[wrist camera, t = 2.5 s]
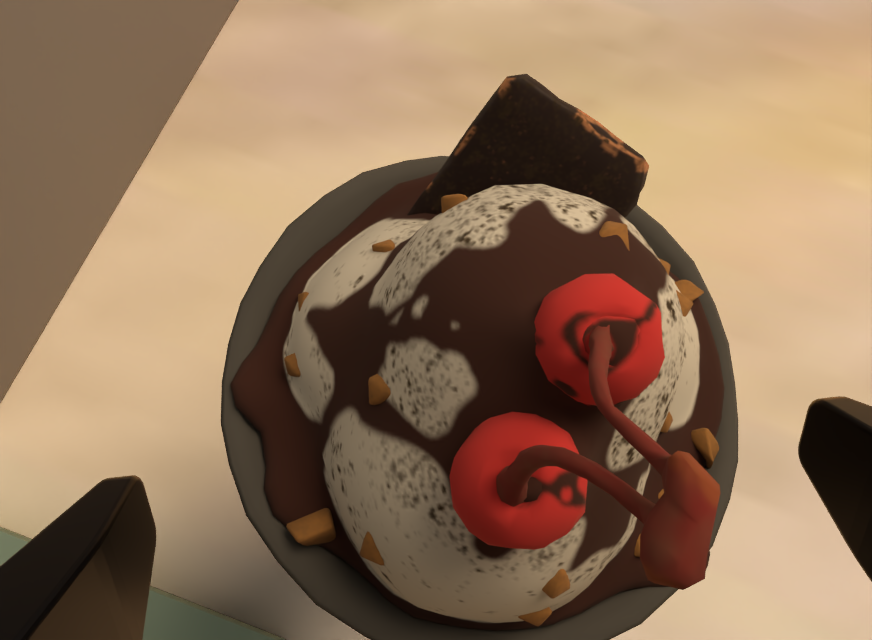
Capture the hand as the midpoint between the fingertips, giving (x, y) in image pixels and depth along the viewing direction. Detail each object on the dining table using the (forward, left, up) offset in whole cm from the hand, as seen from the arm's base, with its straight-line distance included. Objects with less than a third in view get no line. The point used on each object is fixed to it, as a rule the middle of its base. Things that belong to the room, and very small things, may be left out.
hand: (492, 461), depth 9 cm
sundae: (+1, 0, -9) cm, 10 cm away
